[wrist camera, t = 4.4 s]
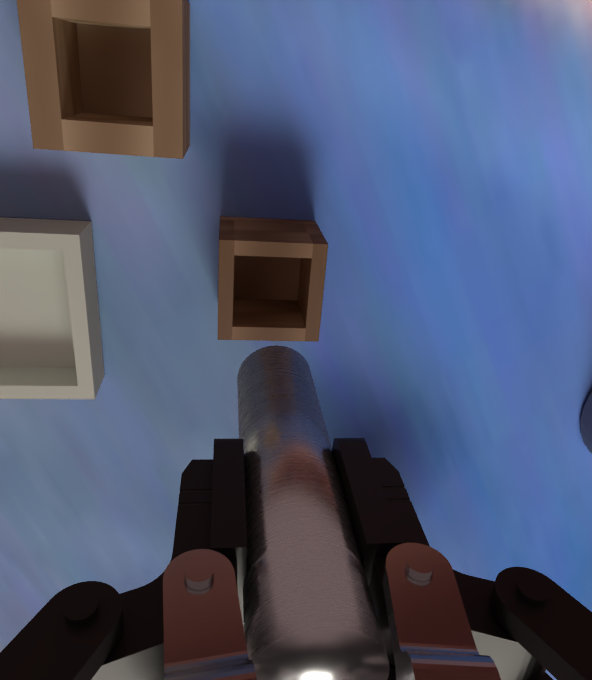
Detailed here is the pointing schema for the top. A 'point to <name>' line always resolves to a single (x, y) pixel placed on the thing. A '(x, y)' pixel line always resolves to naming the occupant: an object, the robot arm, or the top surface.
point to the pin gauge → (299, 535)
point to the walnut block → (270, 279)
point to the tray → (48, 310)
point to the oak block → (108, 75)
